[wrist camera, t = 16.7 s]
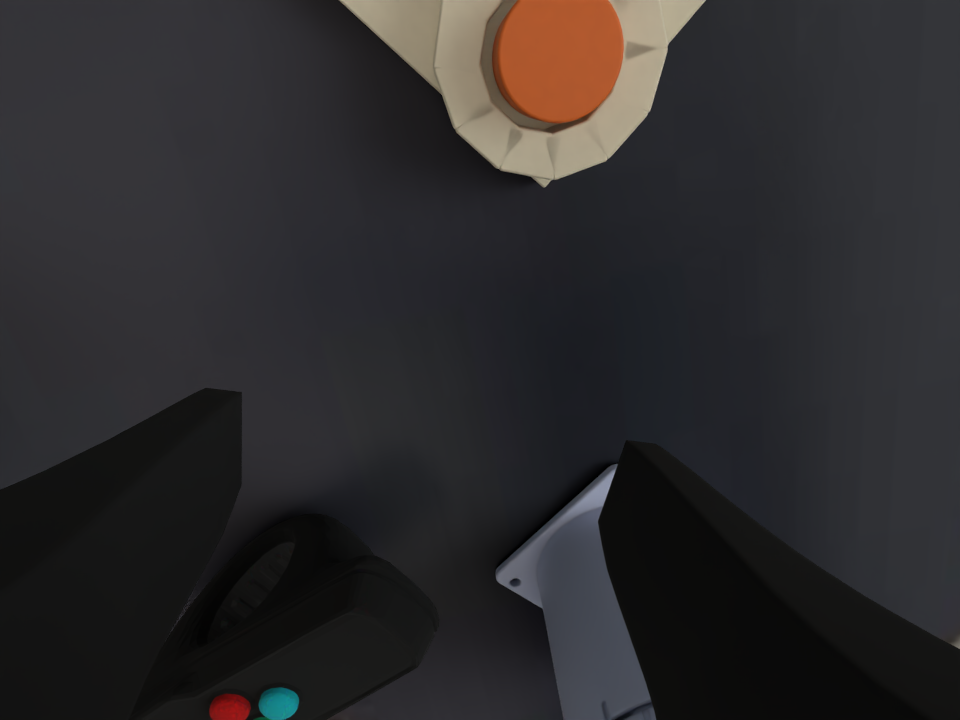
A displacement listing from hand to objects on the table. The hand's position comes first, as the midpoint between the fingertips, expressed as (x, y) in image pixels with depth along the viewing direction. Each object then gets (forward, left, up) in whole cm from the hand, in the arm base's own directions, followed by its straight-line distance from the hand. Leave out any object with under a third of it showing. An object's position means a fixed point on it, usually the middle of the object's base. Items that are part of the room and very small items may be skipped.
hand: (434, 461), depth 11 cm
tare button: (+2, -7, -8) cm, 11 cm away
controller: (-3, +12, -11) cm, 16 cm away
